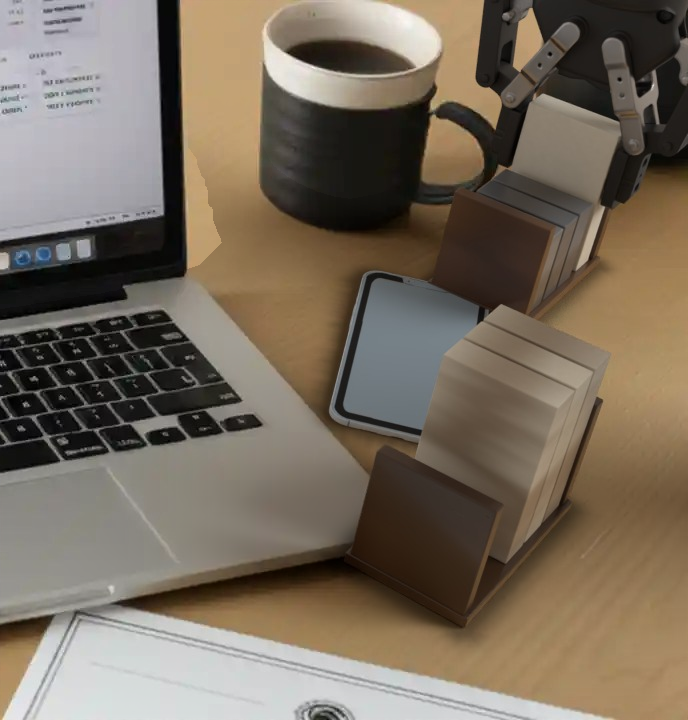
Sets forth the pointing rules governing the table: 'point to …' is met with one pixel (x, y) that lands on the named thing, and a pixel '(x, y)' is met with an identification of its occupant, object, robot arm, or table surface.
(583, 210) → the brown coaster holder
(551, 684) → the table surface
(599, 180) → the beige rectangular block
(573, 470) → the brown book rack
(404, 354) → the smartphone
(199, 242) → the table surface
